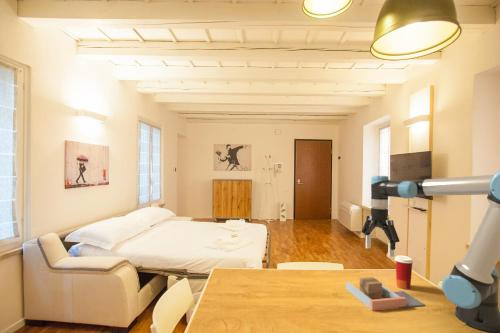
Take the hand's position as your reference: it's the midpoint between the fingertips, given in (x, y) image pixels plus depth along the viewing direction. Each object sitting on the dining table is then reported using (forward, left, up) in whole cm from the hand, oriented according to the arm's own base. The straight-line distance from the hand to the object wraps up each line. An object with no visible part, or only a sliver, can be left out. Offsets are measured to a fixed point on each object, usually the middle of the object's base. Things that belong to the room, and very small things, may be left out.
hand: (379, 252), depth 133 cm
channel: (-2, +4, -20) cm, 21 cm away
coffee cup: (+5, -18, -21) cm, 28 cm away
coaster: (-7, -7, -20) cm, 22 cm away
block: (0, +4, -21) cm, 21 cm away
